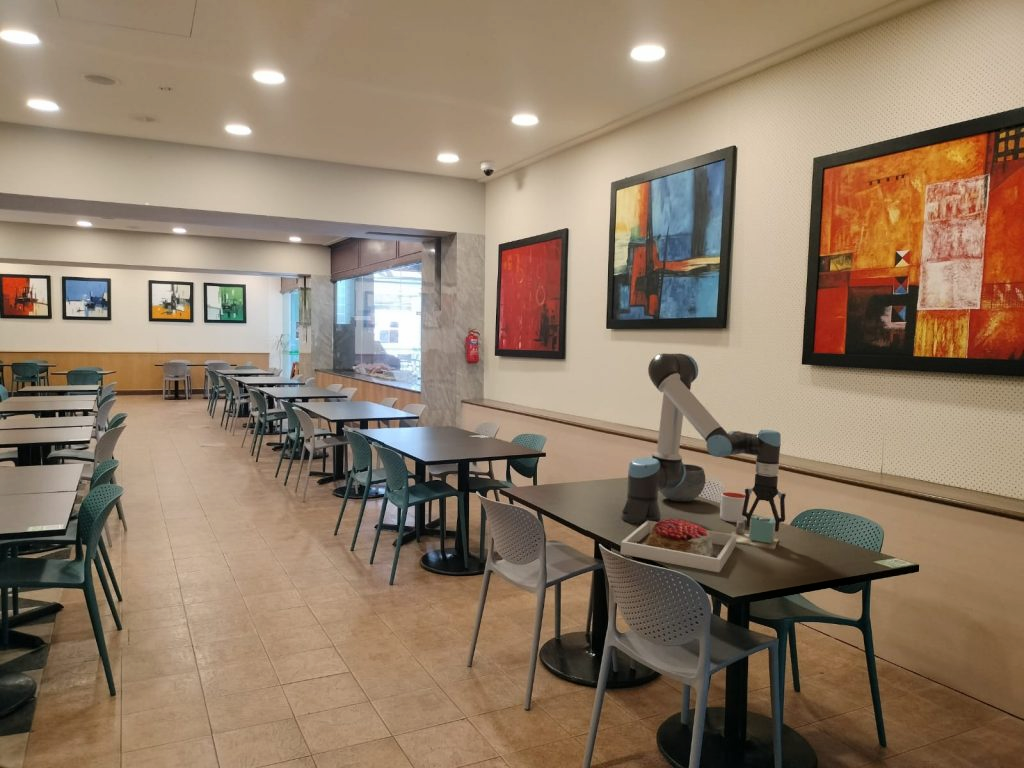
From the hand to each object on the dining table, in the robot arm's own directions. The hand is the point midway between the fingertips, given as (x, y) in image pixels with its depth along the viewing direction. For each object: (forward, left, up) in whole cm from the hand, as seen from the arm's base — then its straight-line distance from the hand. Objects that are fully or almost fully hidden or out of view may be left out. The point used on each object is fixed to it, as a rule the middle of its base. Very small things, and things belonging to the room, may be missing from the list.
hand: (761, 538), depth 250 cm
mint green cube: (0, 0, 0) cm, 0 cm away
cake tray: (-23, -26, -2) cm, 35 cm away
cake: (-24, -29, -2) cm, 38 cm away
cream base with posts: (-3, 0, -2) cm, 3 cm away
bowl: (-40, +46, -2) cm, 61 cm away
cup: (-14, +26, -2) cm, 30 cm away
